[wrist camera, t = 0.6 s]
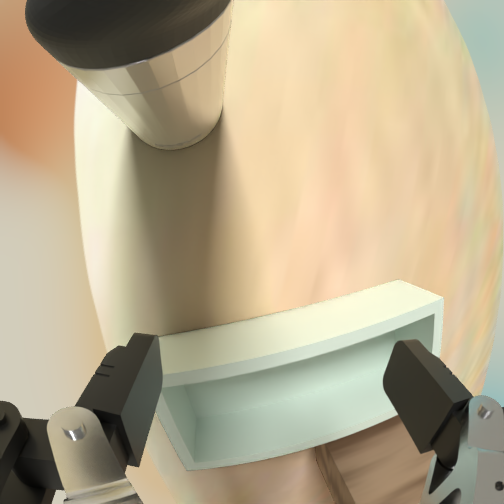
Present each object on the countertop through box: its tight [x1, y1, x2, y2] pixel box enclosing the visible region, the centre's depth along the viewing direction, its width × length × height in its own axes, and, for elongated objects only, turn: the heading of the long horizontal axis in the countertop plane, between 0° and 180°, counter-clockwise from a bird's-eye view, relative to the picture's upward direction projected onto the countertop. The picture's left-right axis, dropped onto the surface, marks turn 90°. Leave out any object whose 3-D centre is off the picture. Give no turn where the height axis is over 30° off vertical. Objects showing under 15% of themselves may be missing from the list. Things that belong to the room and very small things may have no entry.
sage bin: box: [155, 279, 444, 471], centre depth 26 cm, size 12×27×8 cm, turn 101°
